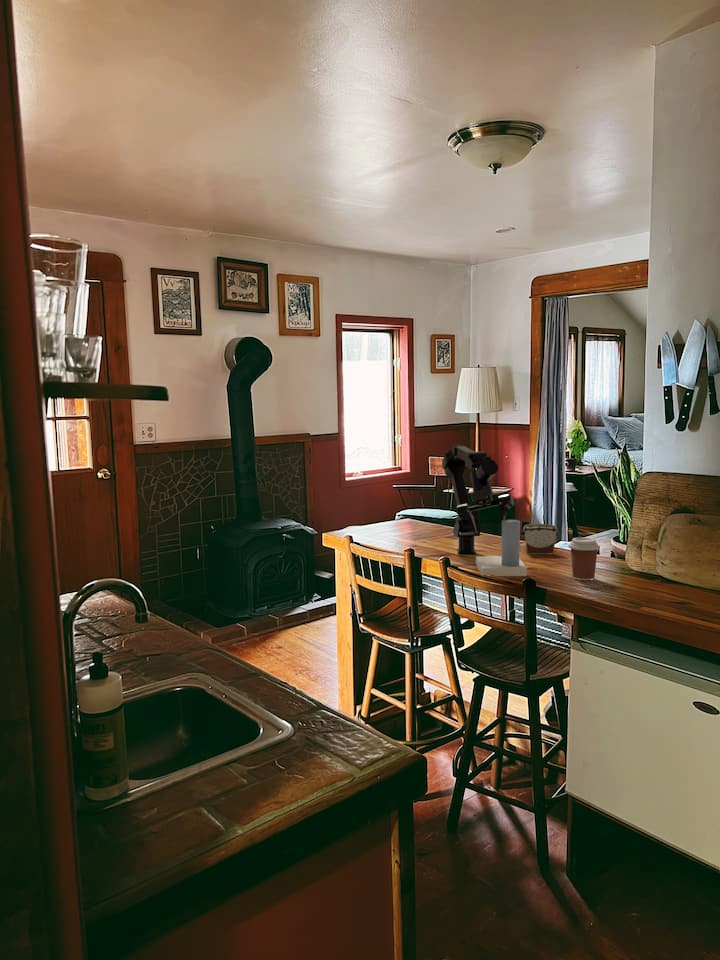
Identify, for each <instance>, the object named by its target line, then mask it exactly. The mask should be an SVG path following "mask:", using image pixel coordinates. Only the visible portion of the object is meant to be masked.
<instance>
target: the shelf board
mask: <svg viewBox="0 0 720 960" xmlns="http://www.w3.org/2000/svg"><path fill="white" fill-rule="evenodd" d="M501 556H502V555H500V556H499V555H497V556H495V555H494V556H489V555H488V556H487V555H485V556H480V555H479V556H477V555H476V556H475V565H476V567H477V569H478V571H479V574H480V573H481V574H482V575H493V576H492V577H527V576H528V567H527V566H526V565H525V564H524V562H523V561H522V560H521V559H520V558H519V566H503V565H501ZM481 574H480V575H481Z"/></svg>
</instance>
